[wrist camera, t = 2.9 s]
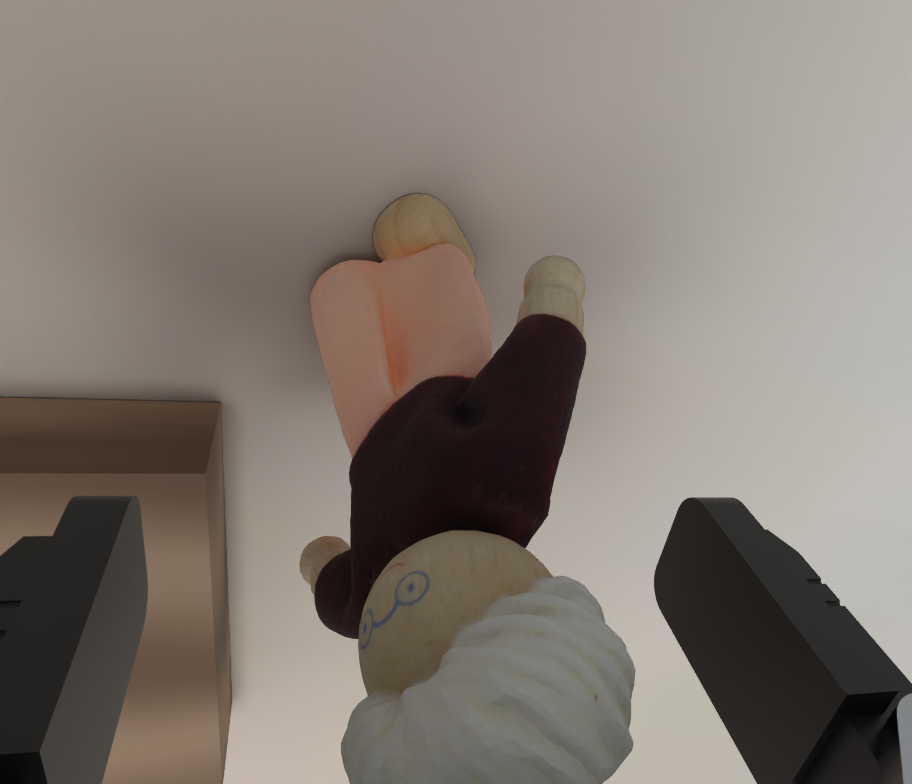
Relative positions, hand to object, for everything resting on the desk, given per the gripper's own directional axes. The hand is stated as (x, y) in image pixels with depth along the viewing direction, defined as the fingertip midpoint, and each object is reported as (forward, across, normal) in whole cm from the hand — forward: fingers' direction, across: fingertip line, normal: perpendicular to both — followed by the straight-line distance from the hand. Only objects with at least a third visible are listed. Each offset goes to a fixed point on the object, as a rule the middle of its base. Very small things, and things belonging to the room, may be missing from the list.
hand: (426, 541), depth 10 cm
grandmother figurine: (+8, 0, 0) cm, 8 cm away
